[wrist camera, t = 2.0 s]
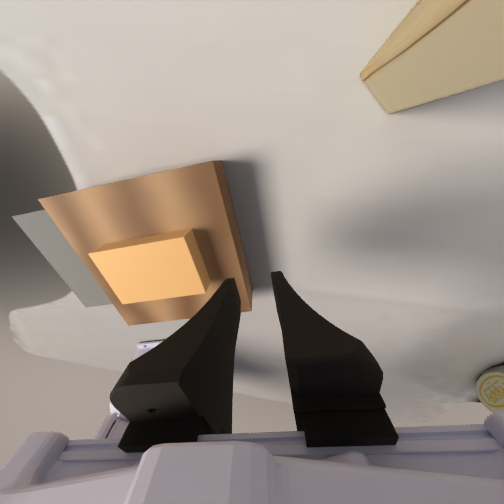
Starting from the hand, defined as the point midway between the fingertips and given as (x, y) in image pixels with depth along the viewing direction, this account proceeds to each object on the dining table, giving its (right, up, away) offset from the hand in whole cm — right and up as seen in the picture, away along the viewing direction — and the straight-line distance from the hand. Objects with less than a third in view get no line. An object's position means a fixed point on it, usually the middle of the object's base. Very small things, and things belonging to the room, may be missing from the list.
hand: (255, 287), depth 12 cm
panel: (-10, +3, +10) cm, 14 cm away
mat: (-22, +1, +11) cm, 25 cm away
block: (-10, +1, +6) cm, 12 cm away
